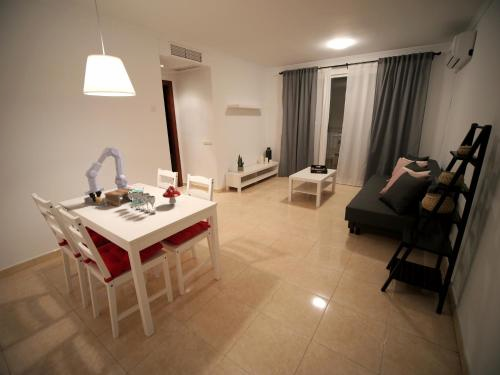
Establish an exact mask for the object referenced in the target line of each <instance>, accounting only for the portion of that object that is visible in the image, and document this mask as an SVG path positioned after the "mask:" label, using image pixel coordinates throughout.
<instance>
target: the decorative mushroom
mask: <svg viewBox="0 0 500 375" xmlns="http://www.w3.org/2000/svg"><path fill="white" fill-rule="evenodd" d="M181 195H182V194H181V193H180V191H179V190H178V189H176V188H175V186H172V185H170V186H168V187H167V189H166V190H165V192H163V194H162V197H163V198H166V199H169V200H168V203H169V204H170V205H174V204H176V203H177V200H176V198H178V197H179V196H181Z"/></svg>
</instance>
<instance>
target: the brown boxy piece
mask: <svg viewBox="0 0 500 375" xmlns="http://www.w3.org/2000/svg"><path fill="white" fill-rule="evenodd" d="M132 190H135V191H136V189H133V188H130V189H127V188H121V189H118V188H117V189H115V190H112V191H109V192H105V193H104V195H103V196H105V201H106V202H107V204H106V205H108V206H113V207H121V206H122V205H121V196H120V195H122V200H126V201H131V200H130V199H129V198H128V192H129V191H132Z"/></svg>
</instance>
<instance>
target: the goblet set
mask: <svg viewBox="0 0 500 375" xmlns="http://www.w3.org/2000/svg"><path fill="white" fill-rule="evenodd" d="M128 198H129V199H131V200H132V201H131V200H130V201H131V202H132V206H131V207H130V209H135V210H139V209H140V211H144V212H145V213H150V214H155V213H157V210H154V204H155V202H156V197H155V195H150V193H149V192H145V193H144V192H142V191H141V192H139V191H135V192H129V193H128ZM134 199H136V201H135V202H136V203H137V205H134V201H133V200H134ZM139 201H140V202H141V206H142V207H143V208H142V207H141V206H138V205H139ZM144 203H146V207H147V208H148V209H147V208H145V207H144ZM149 204H150V205H151V207H152V209H149Z"/></svg>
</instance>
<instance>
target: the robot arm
mask: <svg viewBox="0 0 500 375" xmlns="http://www.w3.org/2000/svg"><path fill="white" fill-rule="evenodd" d="M111 156H112V157H113V158H114V165H115V171H116V175H115V177H114V178H115V180H114V183H115V185H116V187H117V190H118V189H121V188H127V189H131V187H130V185H129V184H128V180H127V178H126V176H125V175H124V166H123V158H122V153H121V152H120V151H119V148H118V147H113V146H106V147H104V149H103V150H102V153H101V155H100V156H99V157H98V160H96V162H94V163H93V162H92V164H91V166H90V168H88V170H86V172H85V175H84V176H85V177H86V178H87V182H88V186H89V187H88V188H89V190H88V191H85V192H84V195H85V196H88V197H91V198H92V200H93V202H96V199H95V197H96V196H98V197H102V193H103V192H102V191H105V189H104V187H99V184H98V180H97V179H98V178H97V176H98V172H99V171H100V169H101V168H102V164H103V163H104V162H105V161H106V159H107V158H108V157H111ZM119 197H120V198H121V197H122V195H120V196H119Z"/></svg>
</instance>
